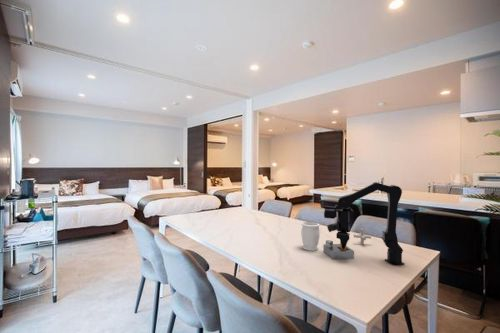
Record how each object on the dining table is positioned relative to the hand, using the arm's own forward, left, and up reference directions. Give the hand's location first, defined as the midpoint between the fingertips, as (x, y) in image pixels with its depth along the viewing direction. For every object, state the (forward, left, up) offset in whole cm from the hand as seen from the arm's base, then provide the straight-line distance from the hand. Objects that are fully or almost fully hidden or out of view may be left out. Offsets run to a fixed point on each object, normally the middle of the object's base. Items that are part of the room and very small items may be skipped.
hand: (343, 247), depth 132 cm
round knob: (0, 0, -2) cm, 2 cm away
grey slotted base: (+2, +2, -4) cm, 5 cm away
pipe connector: (+18, -22, -5) cm, 29 cm away
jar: (+13, +14, -5) cm, 20 cm away
